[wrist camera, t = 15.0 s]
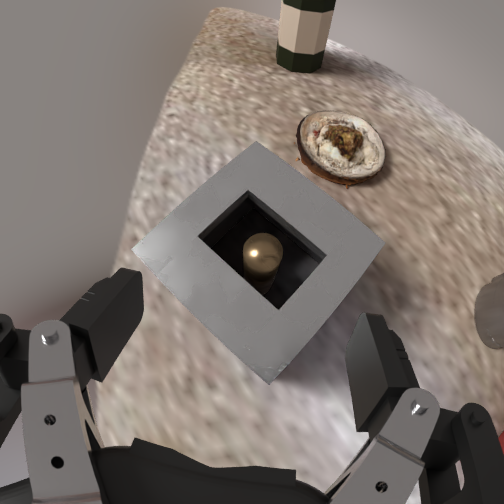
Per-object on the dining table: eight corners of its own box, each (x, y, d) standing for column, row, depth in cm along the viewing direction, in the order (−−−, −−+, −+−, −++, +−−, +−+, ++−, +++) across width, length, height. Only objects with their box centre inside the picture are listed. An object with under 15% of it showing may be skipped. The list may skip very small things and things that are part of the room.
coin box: (252, 197, 35) (256, 141, 26) (347, 276, 32) (385, 242, 23) (163, 282, 31) (131, 249, 22) (260, 376, 28) (269, 385, 19)
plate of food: (291, 104, 41) (294, 84, 37) (384, 127, 41) (393, 109, 37) (277, 182, 36) (281, 162, 32) (390, 207, 36) (404, 191, 32)
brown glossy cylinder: (267, 264, 32) (276, 229, 23) (275, 291, 31) (287, 264, 23) (240, 271, 32) (238, 237, 23) (247, 298, 31) (248, 274, 22)
